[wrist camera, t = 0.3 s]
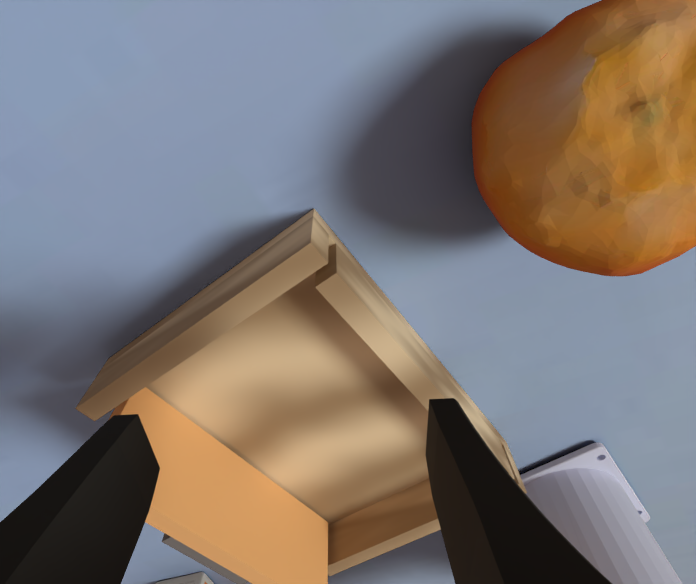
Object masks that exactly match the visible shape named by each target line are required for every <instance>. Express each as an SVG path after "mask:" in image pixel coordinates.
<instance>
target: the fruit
mask: <svg viewBox="0 0 696 584" xmlns="http://www.w3.org/2000/svg"><path fill="white" fill-rule="evenodd" d="M472 153H473V166H474V176H475V180H476V183H477V186H478V189H479V192H480V194H481V195H482V197H483V199H484V201H485V203H486V204H487V206H488V207H489V209H490V210H491V212H492V213H493V215H494V216H495V218H496V219H497V221H498V222H499V224H500V225H501V226H502V228H503V229H504V231H505V232H506V233H507V234H508V235H509V236H510V237H512V238H513V239H514V240H515V241H516V242H518V243H519V244H520V245H522V246H523V247H525V248H526V249H527V250H529V251H530V252H532V253H534V254H536V255H538V256H540V257H542V258H544V259H546V260H548V261H551V262H553V263H556V264H559V265H562V266H565V267H568V268H571V269H575V270H580V271H584V272H589V273H594V274H599V275H604V276H629V275H635V274H640V273H643V272H645V271H647V270H650V269H652V268H654V267H656V266H658V265H661V264H663V263H665V262H667V261H670V260H672V259H674V258H676V257H678V256H680V255H682V254H683V253H685V252H686V251H688V250H690V249H691V248H693V247H695V246H696V0H602V1H599V2H597V3H594V4H592V5H590V6H587V7H585V8H582V9H580V10H578V11H575V12H573V13H572V14H570V15H568V16H567V17H566V18H564V19H563V20H562V21H561V22H560V23H558V24H557V25H556V26H555V27H553V28H552V29H551V30H550V31H549V32H547V33H546V34H545V35H543V36H542V37H540V38H539V39H537V40H536V41H534V42H533V43H531V44H530V45H528V46H526V47H524V48H523V49H522V50H520V51H519V52H517V53H516V54H514V55H513V56H511V57H510V58H508V59H507V60H506V61H504V62H503V63H502V64H501V65H500V66H499V67H498V68H497V69H496V70H495V71H494V73H493V74H492V76H491V77H490V79H489V80H488V82H487V83H486V85H485V86H484V87H483V89H482V91H481V93H480V95H479V97H478V100H477V102H476V105H475V108H474V112H473V118H472Z"/></svg>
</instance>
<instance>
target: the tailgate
mask: <svg viewBox="0 0 696 584" xmlns="http://www.w3.org/2000/svg"><path fill="white" fill-rule="evenodd" d="M130 414H138V415H139V417H140V420H141V422H142V425H143V427H144V430H145V432H146V435H147V437H148V439H149V442H150V444H151V447H152V449H153V452H154V454H155V457H156V459H157V462H158V464H159V467H160V471H159V475H158V479H157V483H156V487H155V491H154V495H153V499H152V502H151V506H150V509H149V512H148V515H147V518H146V520H145V522H146V523H148V524H150V525H151V526H153V527H155V528H157V529H158V530H160V531H162V532H163V533H165V534H164V537H163V540H162V542H163V543H165V544H167V545H169V546H170V547H172V548H174V549H176V550H178V551H179V552H181V553H183V554H185V555H186V556H188V557H190V558H192V559H194V560H195V561H197V562H199V563H201V564H202V565H204V566H206V567H208V568H210V569H211V570H213V571H215V572H217V573H218V574H220V575H222V576H224V577H226V578H227V579H229V580H231V581H233V582H234V583H236V584H245V583H247V582H251V583H252V584H328V522H327V521H326V520H324V519H323V518H322V517H320V516H319V515H318V514H316V513H315V512H314V511H312V510H311V509H310V508H308V507H307V506H305V505H304V504H303V503H301V502H300V501H299V500H297V499H296V498H295V497H293V496H292V495H291V494H289V493H288V492H287V491H285V490H284V489H283V488H281V487H280V486H279V485H277V484H276V483H274V482H273V481H272V480H270V479H269V478H268V477H266V476H265V475H264V474H262V473H261V472H260V471H258V470H257V469H256V468H254V467H253V466H252V465H250V464H249V463H247V462H246V461H245V460H243V459H242V458H241V457H239V456H238V455H237V454H235V453H234V452H233V451H231V450H230V449H229V448H227V447H226V446H225V445H223V444H222V443H221V442H219V441H218V440H216V439H215V438H214V437H212V436H211V435H210V434H208V433H207V432H206V431H204V430H203V429H202V428H200V427H199V426H198V425H196V424H195V423H194V422H192V421H191V420H190V419H188V418H187V417H185V416H184V415H183V414H181V413H180V412H179V411H177V410H176V409H175V408H173V407H172V406H171V405H169V404H168V403H167V402H165V401H164V400H163V399H161V398H160V397H159V396H157V395H156V394H154V393H153V392H152V391H150V390H149V389H148V388H146V387H145V388H143V389H142V390H140V391H139V392H137V393H136V394H134V395H133V396H131V397H130V398H129V399H127V400H126V401H124V402H123V403H121V404H120V405H118V406H117V407H115V409H114V411H113V413H112V415H111V416H110V418H111V417H113V416H114V415H130ZM110 418H109V419H110Z"/></svg>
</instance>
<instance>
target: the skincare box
mask: <svg viewBox="0 0 696 584" xmlns="http://www.w3.org/2000/svg"><path fill="white" fill-rule="evenodd" d="M155 584H214V583H213V582H212V581H211V580H210V579H209V577H208V576H207V575H206V574H205V573H204V572H198V573H194V574H190V575H186V576H182V577H177V578H172V579H168V580H163V581H159V582H156V583H155Z"/></svg>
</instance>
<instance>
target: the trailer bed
mask: <svg viewBox="0 0 696 584" xmlns="http://www.w3.org/2000/svg"><path fill="white" fill-rule="evenodd" d="M145 387H146V388H148V389H149V390H150V391H152V392H153V393H154V394H156V395H157V396H159V397H160V398H161V399H163V400H164V401H165V402H167V403H168V404H169V405H171V406H172V407H173V408H175V409H176V410H177V411H179V412H180V413H181V414H183V415H184V416H185V417H187V418H188V419H190V420H191V421H192V422H194V423H195V424H196V425H198V426H199V427H200V428H202V429H203V430H204V431H206V432H207V433H208V434H210V435H211V436H212V437H214V438H215V439H216V440H218V441H219V442H221V443H222V444H223V445H225V446H226V447H227V448H229V449H230V450H231V451H233V452H234V453H235V454H237V455H238V456H239V457H241V458H242V459H243V460H245V461H246V462H247V463H249V464H250V465H252V466H253V467H254V468H256V469H257V470H258V471H260V472H261V473H262V474H264V475H265V476H266V477H268V478H269V479H270V480H272V481H273V482H274V483H276V484H277V485H279V486H280V487H281V488H283V489H284V490H285V491H287V492H288V493H289V494H291V495H292V496H293V497H295V498H296V499H297V500H299V501H300V502H301V503H303V504H304V505H305V506H307V507H308V508H310V509H311V510H312V511H314V512H315V513H316V514H318V515H319V516H320V517H322V518H323V519H324V520H326V521H327V522H328V575H329V576H331V575H334V574H336V573H338V572H341V571H343V570H346V569H348V568H350V567H353V566H355V565H357V564H360V563H362V562H365V561H367V560H369V559H372V558H374V557H376V556H379V555H381V554H384V553H386V552H388V551H391V550H393V549H395V548H398V547H400V546H403V545H405V544H407V543H410V542H412V541H414V540H417V539H419V538H422V537H424V536H426V535H429V534H431V533H433V532H436V531H438V530H441V528H440V524H439V520H438V517H437V513H436V509H435V505H434V501H433V498H432V493H431V487H430V481H429V474H428V468H427V461H426V455H425V454H426V439H427V424H428V409H429V399H444V398H454V399H456V400H457V401H458V402H459V404H460V406H461V407H462V409H463V410H464V412H465V414H466V415H467V417H468V418H469V420H470V421H471V423H472V424H473V426H474V427H475V429H476V430H477V432H478V433H479V434H480V436H481V437H482V439H483V440H484V441H485V443H486V444H487V446H488V447H489V448H490V450H491V451H492V452H493V454H494V455H495V456H496V458H497V459H498V460H499V461H500V463H501V464H502V465H503V467H504V468H505V469H506V470H507V472H508V473H509V474H510V476H511V477H512V478H513V479H514V481H515V482H516V483H517V484H518V485H519V487H520V488H521V489H522V490H523V491H524V493H525V494H526V493H527V491H526V489H525V486H524V484H523V482H522V479H521V477H520V474H519V472H518V469H517V467H516V465H515V462H514V460H513V457H512V455H511V453H510V450H509V448H508V445H507V443H506V441H505V440H504V439H503V438H502V436H501V435H500V434H499V433H498V431H497V430H496V429H495V428H494V427H493V425H492V424H491V423H490V422H489V421H488V419H487V418H486V417H485V416H484V414H483V413H482V412H481V411H480V410H479V408H478V407H477V406H476V405H475V404H474V402H473V401H472V400H471V399H470V397H469V396H468V395H467V394H466V393H465V391H464V390H463V389H462V388H461V386H460V385H459V384H458V383H457V382H456V380H455V379H454V378H453V377H452V376H451V374H450V373H449V372H448V371H447V369H446V368H445V367H444V366H443V365H442V363H441V362H440V361H439V360H438V359H437V357H436V356H435V355H434V354H433V352H432V351H431V350H430V349H429V348H428V346H427V345H426V344H425V343H424V342H423V340H422V339H421V338H420V337H419V335H418V334H417V333H416V332H415V331H414V329H413V328H412V327H411V326H410V325H409V323H408V322H407V321H406V320H405V318H404V317H403V316H402V315H401V314H400V312H399V311H398V310H397V309H396V308H395V306H394V305H393V304H392V303H391V301H390V300H389V299H388V298H387V297H386V295H385V294H384V293H383V292H382V291H381V289H380V288H379V287H378V286H377V284H376V283H375V282H374V281H373V280H372V278H371V277H370V276H369V275H368V273H367V272H366V271H365V270H364V269H363V267H362V266H361V265H360V264H359V263H358V261H357V260H356V259H355V258H354V256H353V255H352V254H351V253H350V252H349V250H348V249H347V248H346V247H345V246H344V244H343V243H342V242H341V241H340V239H339V238H338V237H337V236H336V235H335V233H334V232H333V231H332V230H331V229H330V227H329V226H328V225H327V224H326V222H325V221H324V220H323V219H322V218H321V216H320V215H319V214H318V213H317V212H316V210H315V209H313V210H311V211H310V212H309V213H307V214H306V215H304V216H303V217H302V218H300V219H299V220H298V221H296V222H295V223H293V224H292V225H291V226H289V227H288V228H287V229H285V230H284V231H283V232H281V233H280V234H278V235H277V236H276V237H274V238H273V239H272V240H270V241H269V242H268V243H266V244H265V245H263V246H262V247H261V248H259V249H258V250H257V251H255V252H254V253H252V254H251V255H250V256H248V257H247V258H246V259H244V260H243V261H242V262H240V263H239V264H237V265H236V266H235V267H233V268H232V269H231V270H229V271H228V272H226V273H225V274H224V275H222V276H221V277H220V278H218V279H217V280H216V281H214V282H213V283H211V284H210V285H209V286H207V287H206V288H205V289H203V290H202V291H201V292H199V293H198V294H196V295H195V296H194V297H192V298H191V299H190V300H188V301H187V302H185V303H184V304H183V305H181V306H180V307H179V308H177V309H176V310H175V311H173V312H172V313H170V314H169V315H168V316H166V317H165V318H164V319H162V320H161V321H159V322H158V323H157V324H155V325H154V326H153V327H151V328H150V329H149V330H147V331H146V332H144V333H143V334H142V335H140V336H139V337H138V338H136V339H135V340H134V341H132V342H131V343H129V344H128V345H127V346H125V347H124V348H123V349H121V350H120V351H118V352H117V353H116V354H114V355H113V356H112V357H110V358H109V359H108V360H107V362H106V363H105V365H104V366H103V368H102V369H101V371H100V372H99V374H98V375H97V377H96V378H95V380H94V381H93V383H92V384H91V386H90V387H89V389H88V390H87V392H86V393H85V395H84V396H83V398H82V399H81V401H80V402H79V404H78V405H77V407H76V408H75V409H77V410H78V411H80V412H81V413H83V414H84V415H86V416H87V417H89V418H90V419H92V420H93V421H96V420H98V419H99V418H101V417H102V416H103V415H105V414H106V413H108V412H109V411H111V410H112V409H114V408H115V407H117V406H118V405H120V404H121V403H123V402H124V401H126V400H127V399H129V398H130V397H131V396H133V395H134V394H136V393H137V392H139V391H140V390H142V389H143V388H145Z"/></svg>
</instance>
